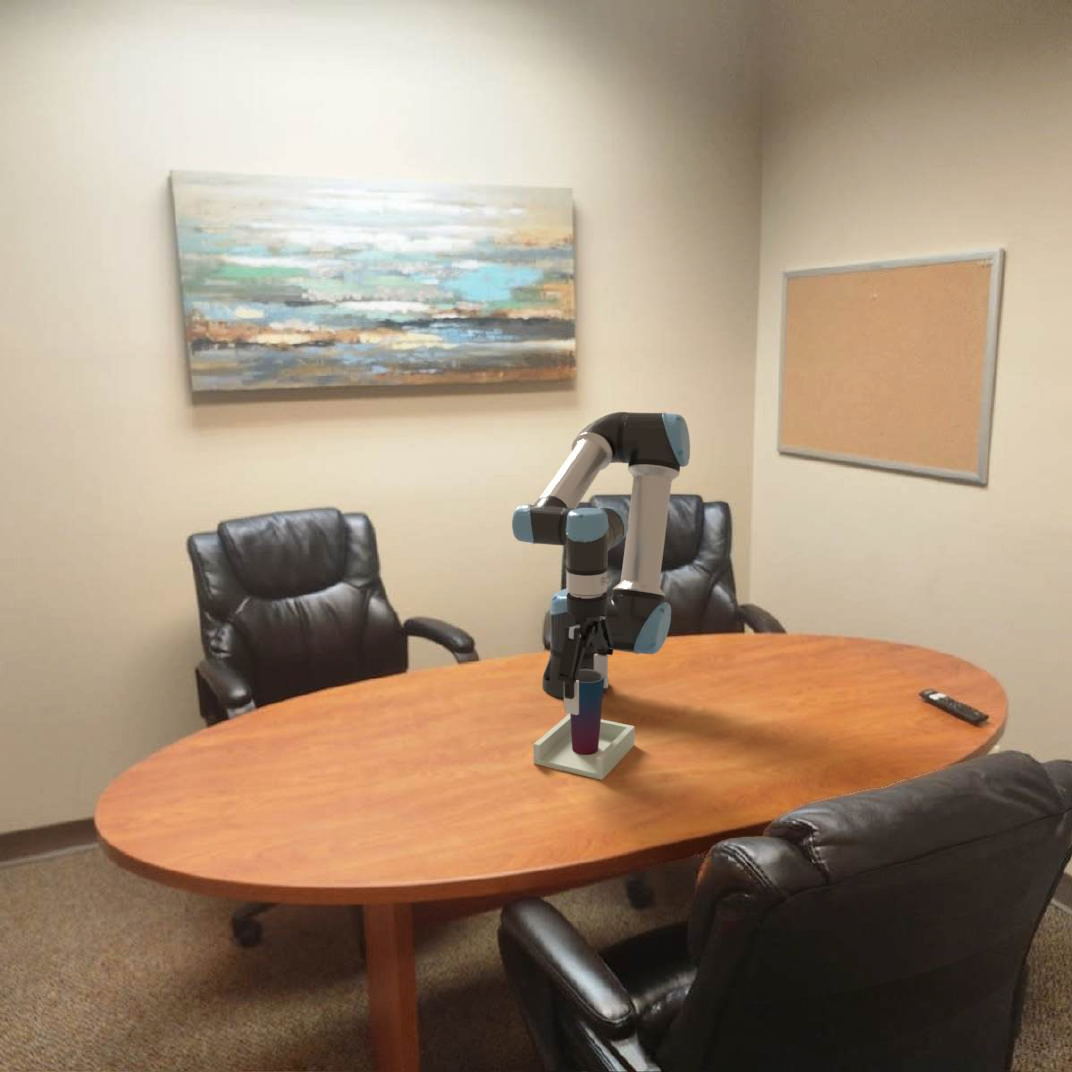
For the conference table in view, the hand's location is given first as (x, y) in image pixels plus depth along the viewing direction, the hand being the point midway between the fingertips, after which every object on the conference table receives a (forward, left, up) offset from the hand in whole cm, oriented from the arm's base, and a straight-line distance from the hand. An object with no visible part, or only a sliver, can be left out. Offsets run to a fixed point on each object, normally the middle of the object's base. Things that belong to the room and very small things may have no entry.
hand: (586, 699), depth 168 cm
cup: (0, 0, -10) cm, 10 cm away
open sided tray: (0, 0, -11) cm, 11 cm away
